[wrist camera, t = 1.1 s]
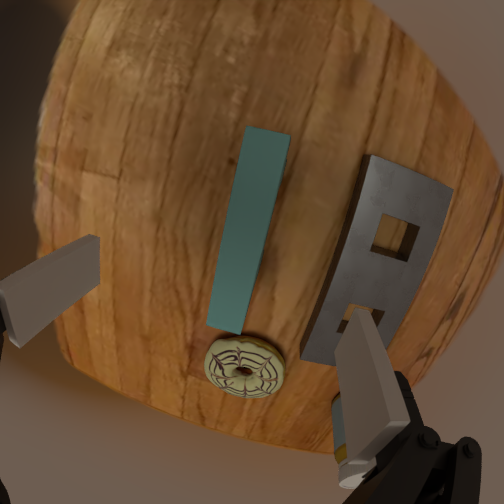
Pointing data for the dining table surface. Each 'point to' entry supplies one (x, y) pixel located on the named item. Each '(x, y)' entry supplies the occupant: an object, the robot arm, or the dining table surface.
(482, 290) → the dining table surface
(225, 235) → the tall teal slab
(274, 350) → the decorated donut
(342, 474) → the bottle
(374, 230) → the slotted metal plate
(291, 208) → the dining table surface
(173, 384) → the dining table surface
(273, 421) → the dining table surface
